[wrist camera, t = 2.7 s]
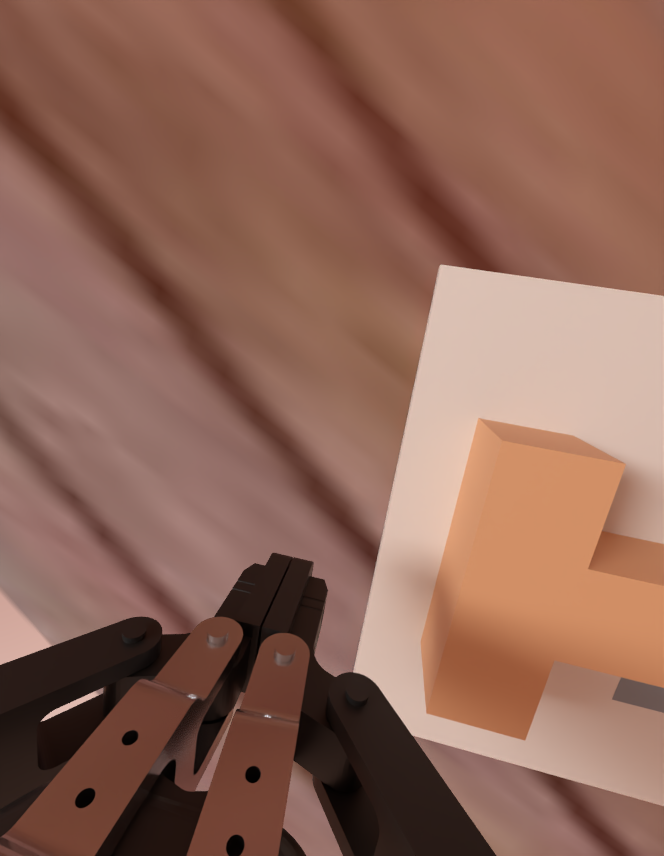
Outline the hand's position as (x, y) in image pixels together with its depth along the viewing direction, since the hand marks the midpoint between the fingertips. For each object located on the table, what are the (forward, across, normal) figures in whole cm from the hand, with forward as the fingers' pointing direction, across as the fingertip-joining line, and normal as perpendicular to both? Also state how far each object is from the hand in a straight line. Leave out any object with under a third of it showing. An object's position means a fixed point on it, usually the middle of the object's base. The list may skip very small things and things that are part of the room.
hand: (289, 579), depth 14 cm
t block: (+6, -12, 0) cm, 14 cm away
